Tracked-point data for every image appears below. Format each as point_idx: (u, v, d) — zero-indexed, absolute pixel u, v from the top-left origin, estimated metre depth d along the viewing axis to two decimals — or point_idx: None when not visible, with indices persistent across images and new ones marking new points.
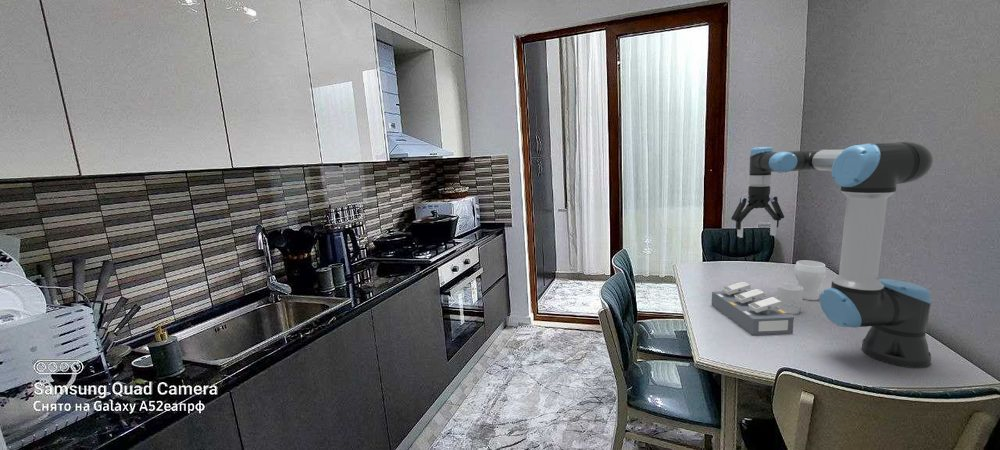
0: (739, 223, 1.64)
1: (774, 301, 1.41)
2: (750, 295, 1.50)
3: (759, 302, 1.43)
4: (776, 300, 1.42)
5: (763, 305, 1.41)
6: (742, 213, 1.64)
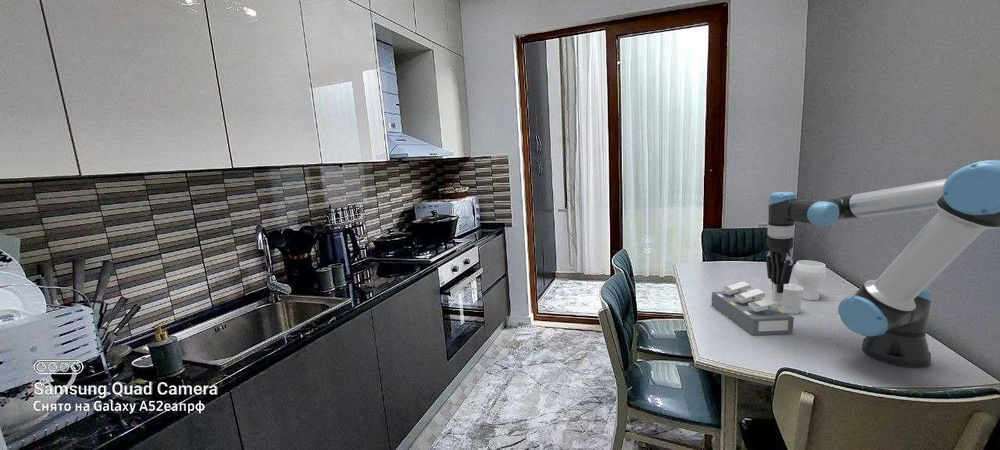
0: None
1: (774, 302, 1.41)
2: (750, 295, 1.50)
3: (759, 302, 1.43)
4: (776, 301, 1.42)
5: (763, 305, 1.41)
6: None
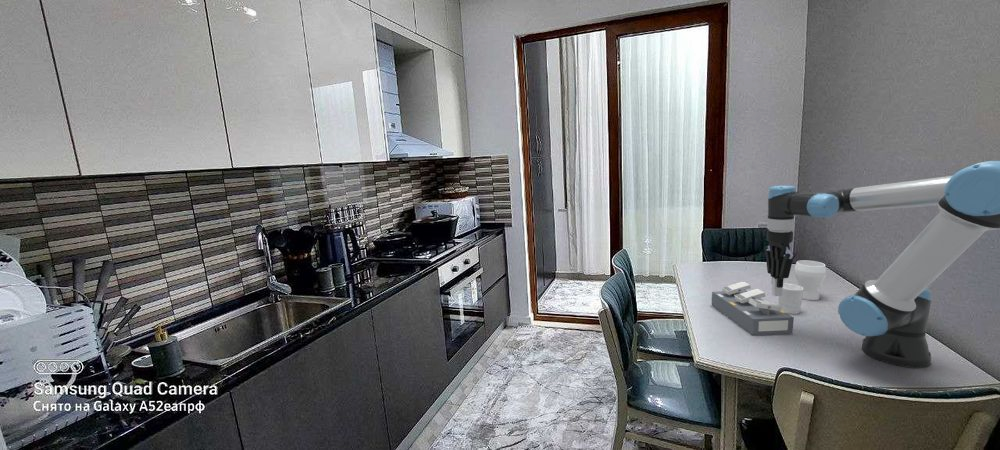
0: None
1: (775, 305, 1.42)
2: (750, 295, 1.50)
3: (760, 301, 1.43)
4: (777, 305, 1.42)
5: (764, 303, 1.41)
6: None
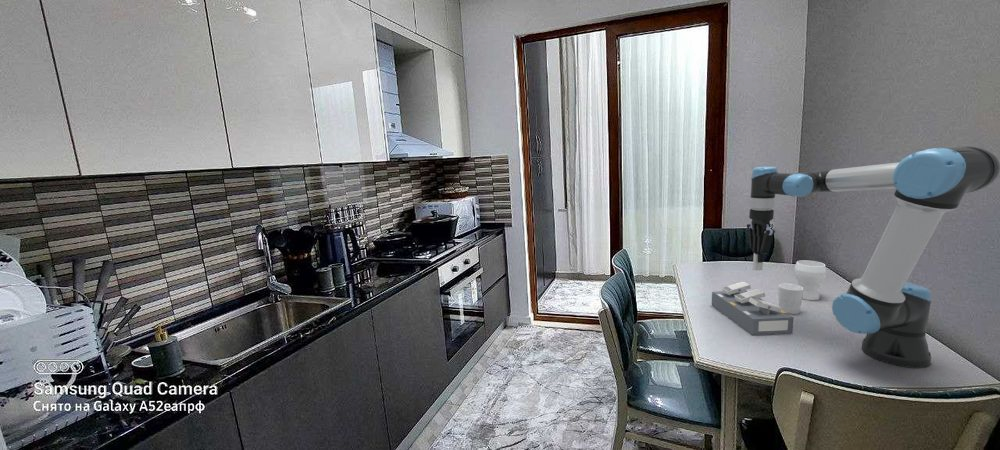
0: None
1: (775, 305, 1.42)
2: (750, 295, 1.50)
3: (761, 301, 1.43)
4: (777, 306, 1.42)
5: (764, 303, 1.41)
6: None
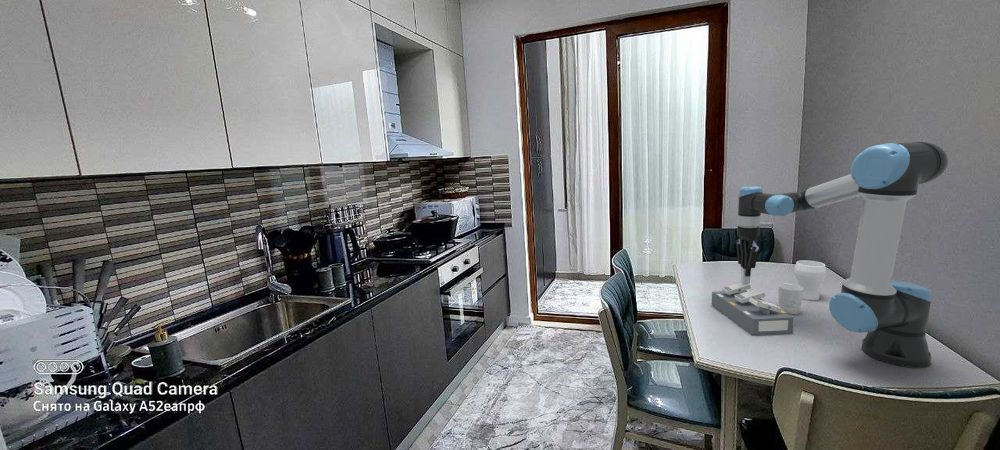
0: (742, 268, 1.60)
1: (775, 306, 1.42)
2: (750, 295, 1.50)
3: (761, 301, 1.43)
4: (777, 306, 1.42)
5: (765, 303, 1.41)
6: None
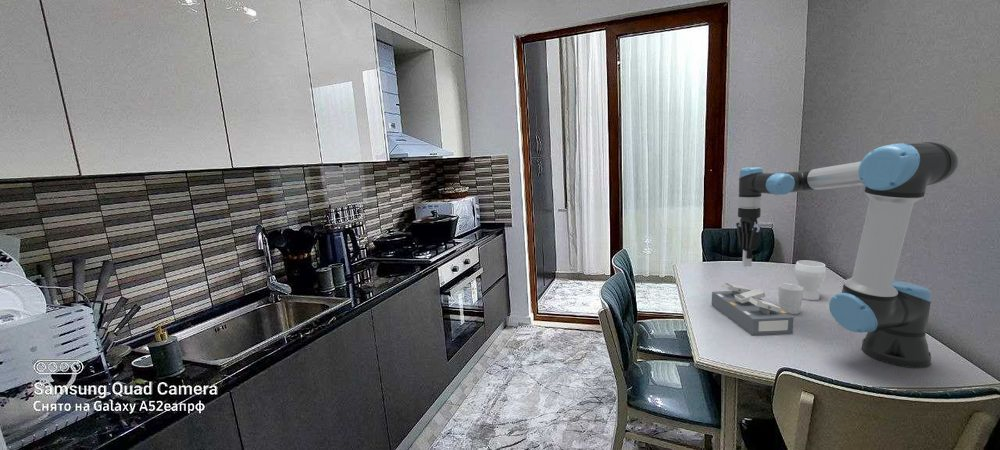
0: None
1: (775, 306, 1.42)
2: (750, 295, 1.50)
3: (761, 301, 1.43)
4: (777, 306, 1.42)
5: (765, 303, 1.41)
6: None
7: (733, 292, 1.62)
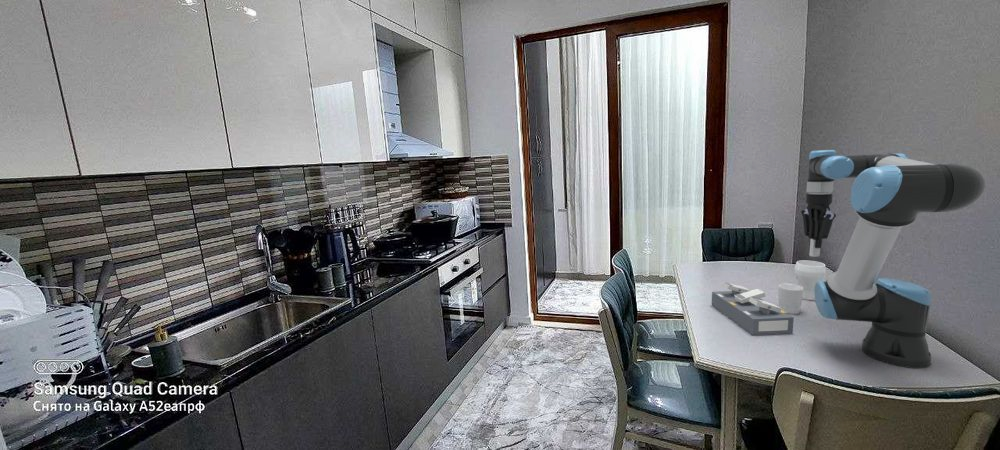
0: (810, 240, 1.49)
1: (775, 306, 1.42)
2: (750, 295, 1.50)
3: (761, 301, 1.43)
4: (777, 306, 1.42)
5: (765, 303, 1.41)
6: None
7: (733, 292, 1.62)
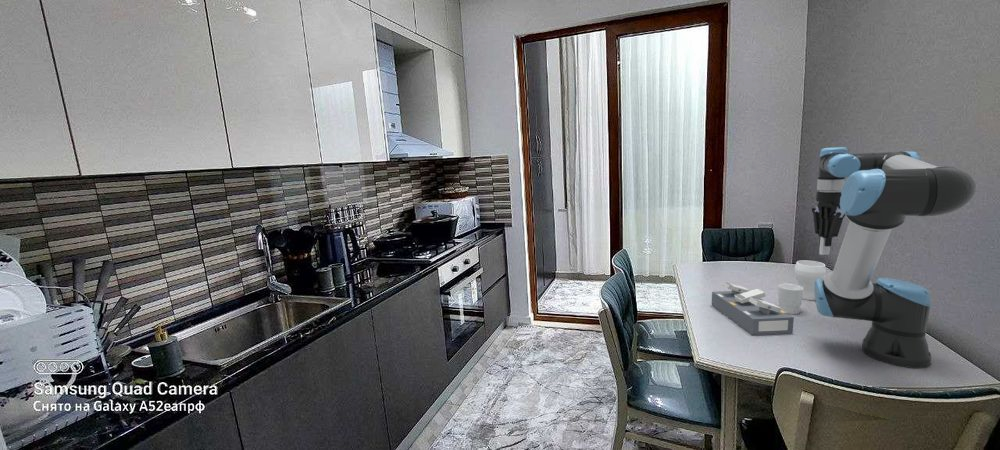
0: None
1: (775, 306, 1.42)
2: (750, 295, 1.50)
3: (761, 301, 1.43)
4: (777, 306, 1.42)
5: (765, 303, 1.41)
6: None
7: (733, 292, 1.62)
